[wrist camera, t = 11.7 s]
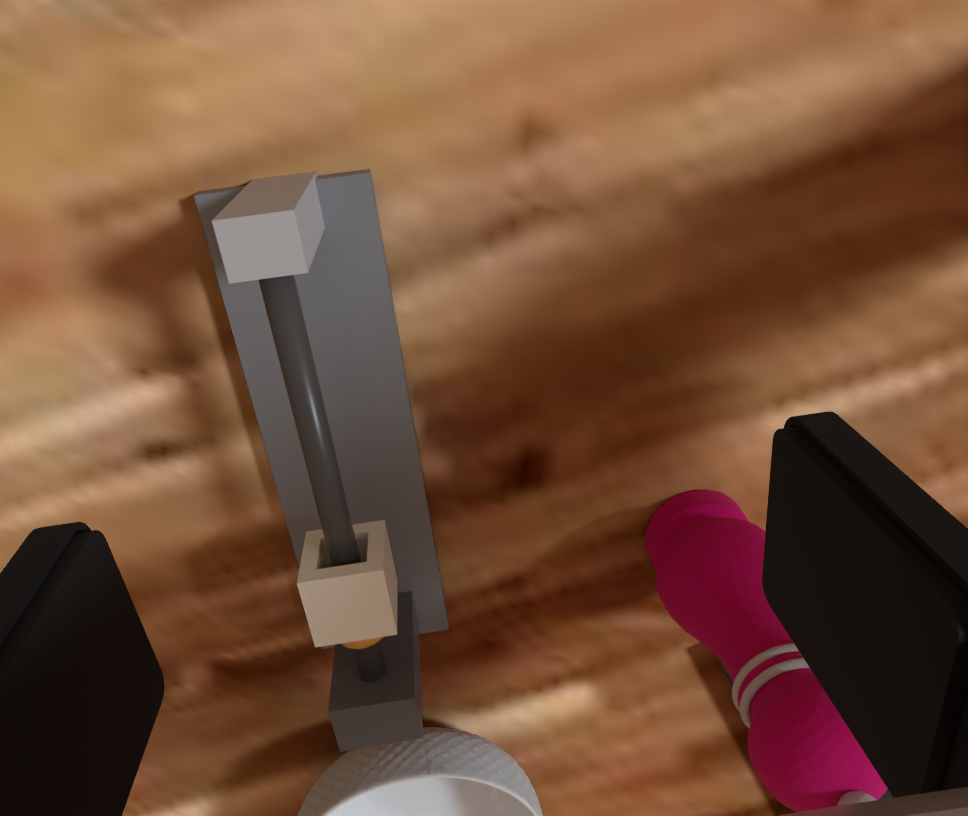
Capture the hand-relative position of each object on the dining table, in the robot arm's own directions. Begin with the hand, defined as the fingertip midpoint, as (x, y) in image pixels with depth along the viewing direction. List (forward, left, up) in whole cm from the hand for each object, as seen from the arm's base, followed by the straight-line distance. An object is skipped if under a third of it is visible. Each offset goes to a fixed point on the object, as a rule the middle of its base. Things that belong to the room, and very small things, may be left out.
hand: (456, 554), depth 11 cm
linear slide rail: (+6, +13, -28) cm, 32 cm away
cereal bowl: (+6, +41, -29) cm, 50 cm away
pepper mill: (-14, +23, -28) cm, 39 cm away
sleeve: (+6, +17, -23) cm, 30 cm away
